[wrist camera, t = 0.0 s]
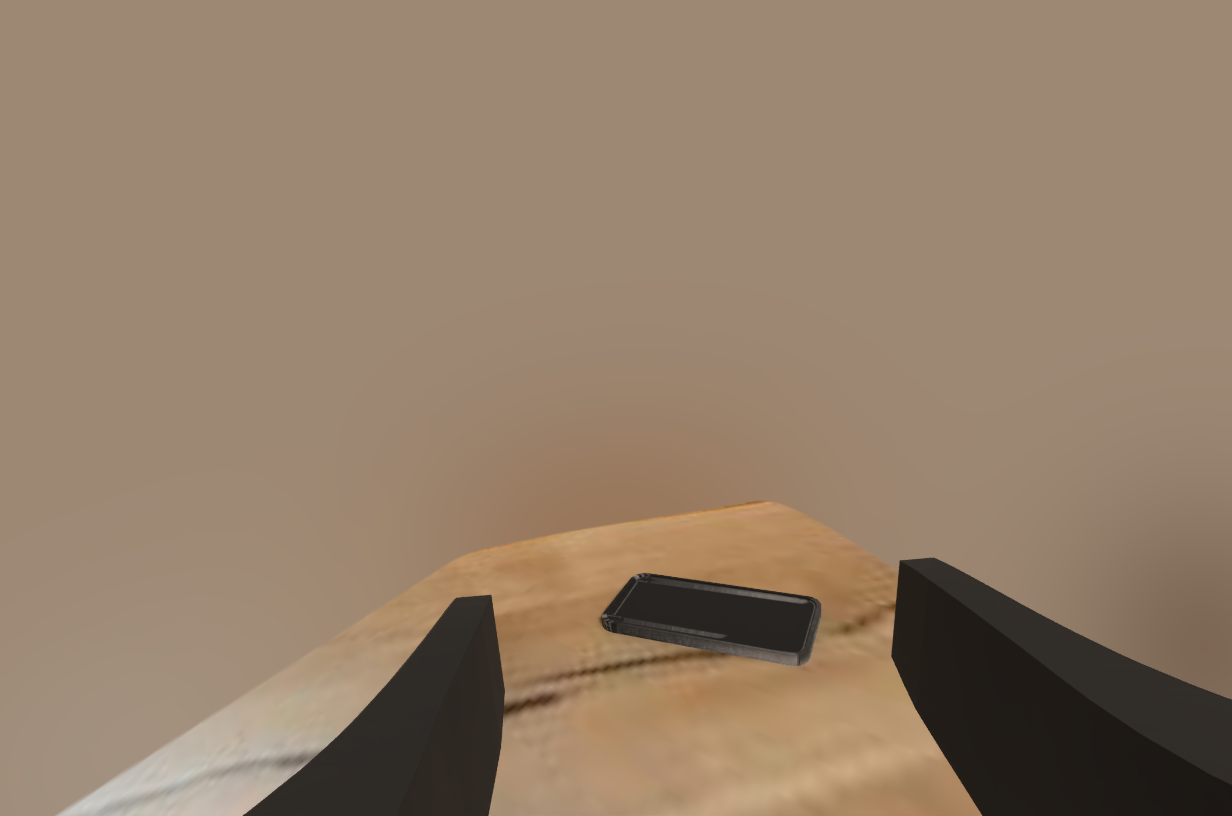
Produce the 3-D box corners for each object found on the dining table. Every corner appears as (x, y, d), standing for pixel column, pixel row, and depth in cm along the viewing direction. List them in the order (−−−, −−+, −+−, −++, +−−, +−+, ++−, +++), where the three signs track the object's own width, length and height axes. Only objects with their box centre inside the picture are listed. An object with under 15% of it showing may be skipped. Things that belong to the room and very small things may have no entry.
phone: (636, 571, 58) (823, 598, 52) (637, 583, 58) (823, 611, 52) (596, 621, 51) (806, 658, 45) (597, 635, 51) (806, 673, 45)
